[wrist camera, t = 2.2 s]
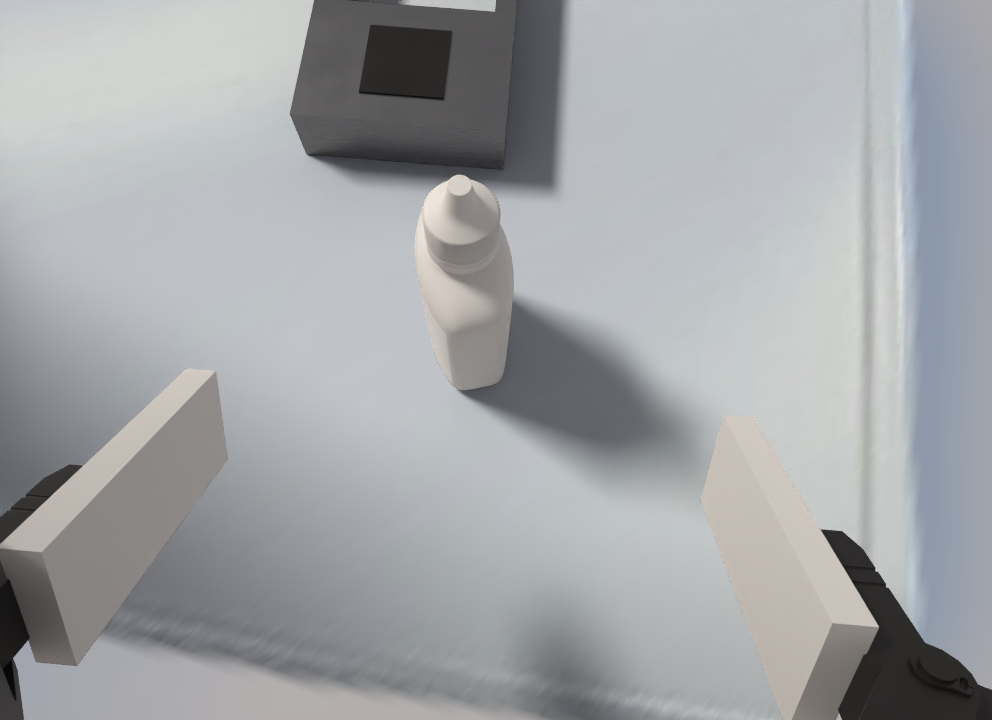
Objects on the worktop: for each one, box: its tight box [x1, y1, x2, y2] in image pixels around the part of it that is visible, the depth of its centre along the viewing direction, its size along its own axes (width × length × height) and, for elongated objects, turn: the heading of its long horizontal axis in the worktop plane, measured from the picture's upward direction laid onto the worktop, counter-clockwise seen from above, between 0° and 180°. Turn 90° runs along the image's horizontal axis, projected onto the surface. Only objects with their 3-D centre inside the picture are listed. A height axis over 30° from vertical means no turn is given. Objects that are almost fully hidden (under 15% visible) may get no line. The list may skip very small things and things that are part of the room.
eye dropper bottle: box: [415, 175, 514, 390], centre depth 24 cm, size 4×6×12 cm
